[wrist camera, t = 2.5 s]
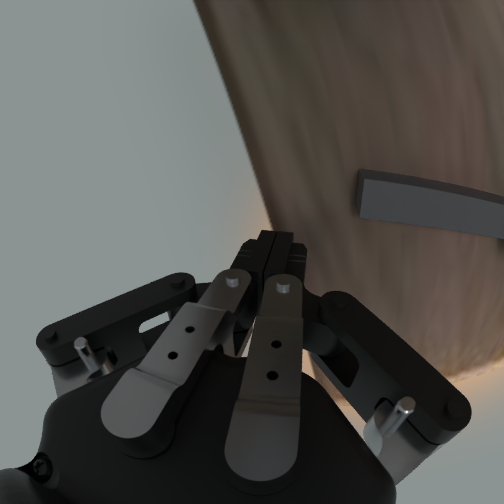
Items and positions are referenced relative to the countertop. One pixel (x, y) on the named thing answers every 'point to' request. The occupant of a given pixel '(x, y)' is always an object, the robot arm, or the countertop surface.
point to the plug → (428, 203)
